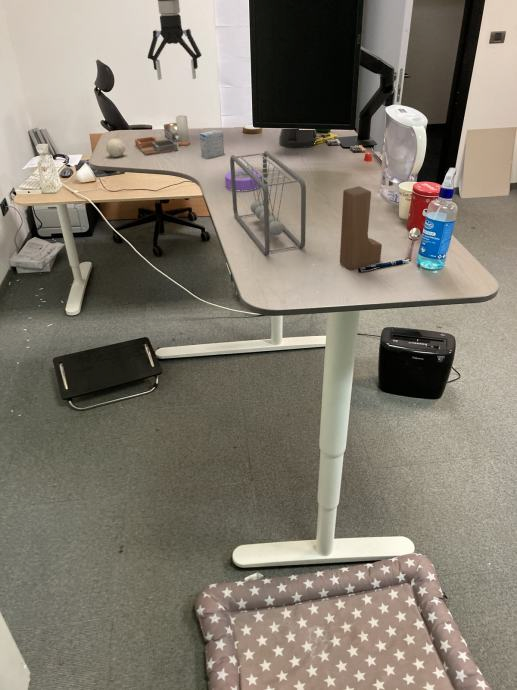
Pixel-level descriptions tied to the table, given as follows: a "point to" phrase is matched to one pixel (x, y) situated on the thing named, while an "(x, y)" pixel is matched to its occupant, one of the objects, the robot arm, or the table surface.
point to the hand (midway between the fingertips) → (177, 78)
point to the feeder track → (167, 134)
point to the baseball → (115, 147)
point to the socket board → (155, 145)
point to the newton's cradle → (263, 208)
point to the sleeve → (182, 131)
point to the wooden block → (357, 230)
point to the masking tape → (241, 180)
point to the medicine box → (212, 144)
